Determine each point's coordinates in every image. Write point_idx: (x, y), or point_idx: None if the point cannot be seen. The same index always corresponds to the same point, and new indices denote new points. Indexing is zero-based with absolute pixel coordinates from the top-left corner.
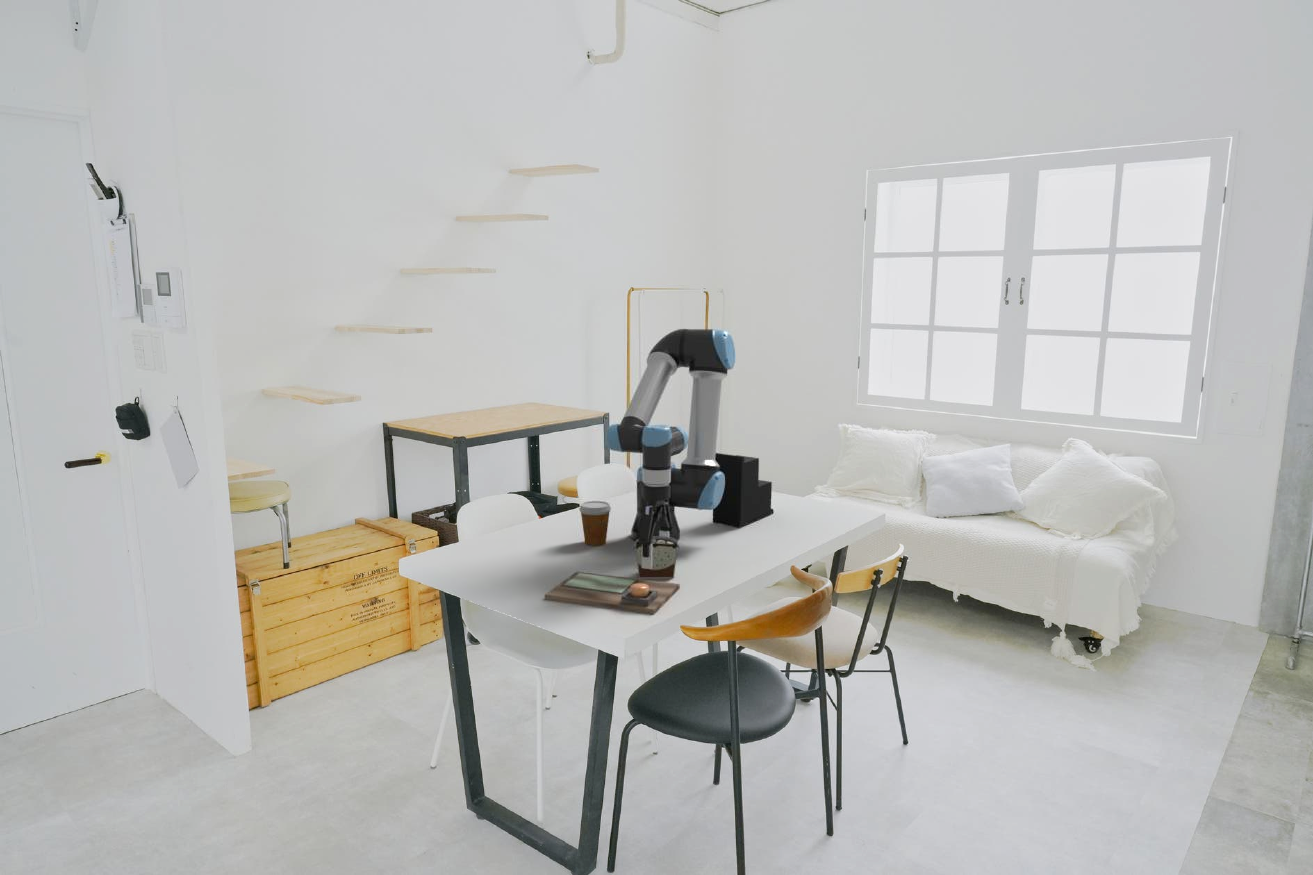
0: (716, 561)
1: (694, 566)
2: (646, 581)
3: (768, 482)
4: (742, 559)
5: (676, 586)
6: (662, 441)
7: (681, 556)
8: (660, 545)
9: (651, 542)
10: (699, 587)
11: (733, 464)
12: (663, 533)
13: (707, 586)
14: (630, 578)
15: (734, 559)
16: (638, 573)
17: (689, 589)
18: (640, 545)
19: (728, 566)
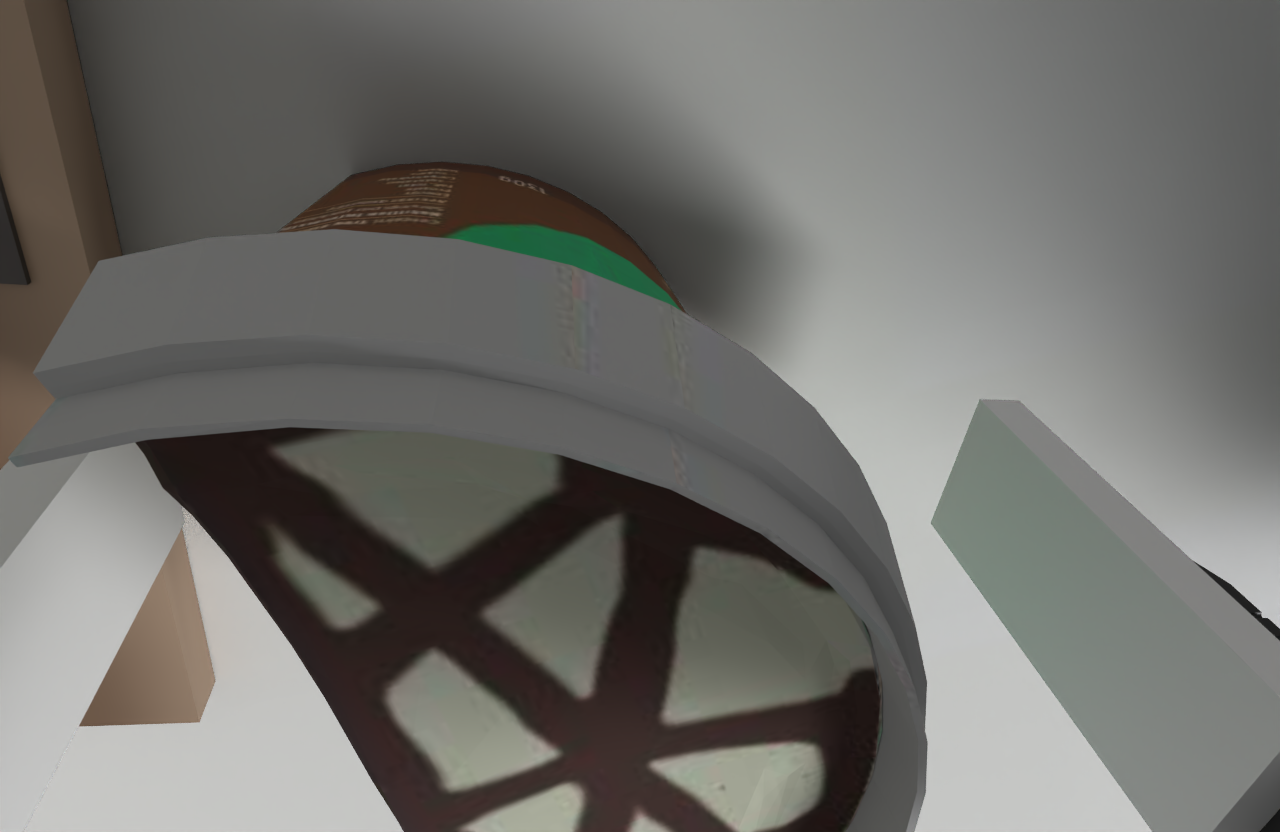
0: (1067, 716)
1: (926, 617)
2: (49, 400)
3: None
4: (1101, 825)
5: (102, 718)
6: None
7: (1267, 438)
8: None
9: (559, 687)
10: (339, 786)
11: None
12: (1204, 751)
13: (395, 819)
14: (25, 123)
15: (1107, 791)
16: (331, 191)
17: (241, 745)
18: (206, 514)
19: (935, 802)
